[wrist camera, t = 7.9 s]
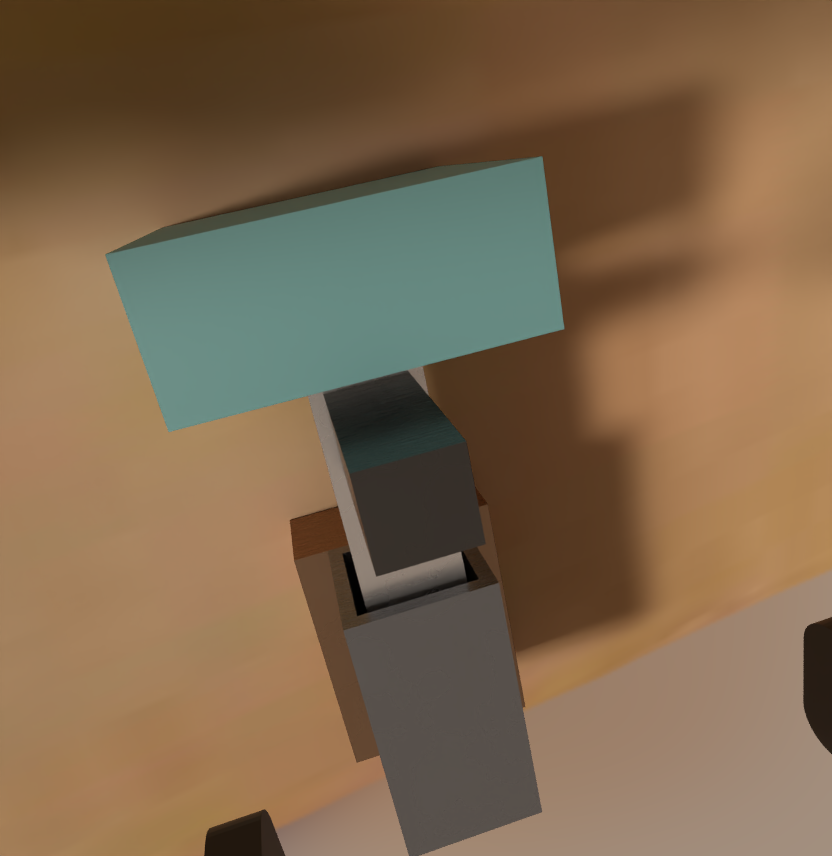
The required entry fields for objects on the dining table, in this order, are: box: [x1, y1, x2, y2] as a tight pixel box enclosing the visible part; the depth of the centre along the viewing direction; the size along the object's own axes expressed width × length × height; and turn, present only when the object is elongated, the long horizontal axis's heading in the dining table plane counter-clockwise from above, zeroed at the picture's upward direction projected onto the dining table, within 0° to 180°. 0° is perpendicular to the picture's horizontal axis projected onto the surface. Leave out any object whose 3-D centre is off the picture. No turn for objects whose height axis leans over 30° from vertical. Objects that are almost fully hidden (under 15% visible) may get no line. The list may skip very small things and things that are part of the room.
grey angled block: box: [308, 366, 486, 613], centre depth 24 cm, size 16×4×11 cm, turn 12°
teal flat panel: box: [105, 156, 564, 432], centre depth 25 cm, size 5×12×12 cm, turn 102°
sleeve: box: [290, 488, 542, 856], centre depth 33 cm, size 12×9×10 cm
